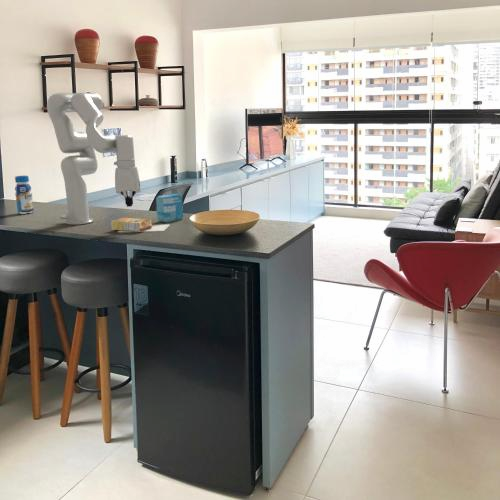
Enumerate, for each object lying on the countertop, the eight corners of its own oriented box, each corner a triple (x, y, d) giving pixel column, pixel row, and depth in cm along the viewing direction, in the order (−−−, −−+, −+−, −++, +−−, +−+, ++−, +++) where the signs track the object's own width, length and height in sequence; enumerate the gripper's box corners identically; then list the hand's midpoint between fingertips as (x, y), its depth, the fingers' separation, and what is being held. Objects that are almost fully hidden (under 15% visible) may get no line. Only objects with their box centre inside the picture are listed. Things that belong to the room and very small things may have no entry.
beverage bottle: (22, 212, 323) (18, 175, 318) (37, 211, 322) (32, 175, 317) (14, 214, 315) (9, 177, 310) (29, 214, 313) (25, 176, 309)
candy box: (123, 217, 265) (151, 218, 259) (124, 226, 266) (152, 228, 260) (110, 220, 258) (139, 222, 251) (111, 230, 258) (140, 232, 252)
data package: (163, 222, 274) (161, 197, 271) (157, 221, 277) (155, 196, 274) (183, 219, 282) (182, 194, 280) (177, 218, 285) (176, 193, 283)
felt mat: (117, 232, 255) (117, 231, 254) (126, 226, 269) (126, 225, 269) (163, 231, 253) (163, 230, 253) (170, 224, 268) (170, 224, 268)
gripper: (106, 165, 253) (110, 208, 257) (141, 164, 252) (144, 207, 256) (111, 164, 260) (115, 205, 264) (145, 163, 259) (148, 204, 263)
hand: (129, 206), depth 260 cm, fingers closed
